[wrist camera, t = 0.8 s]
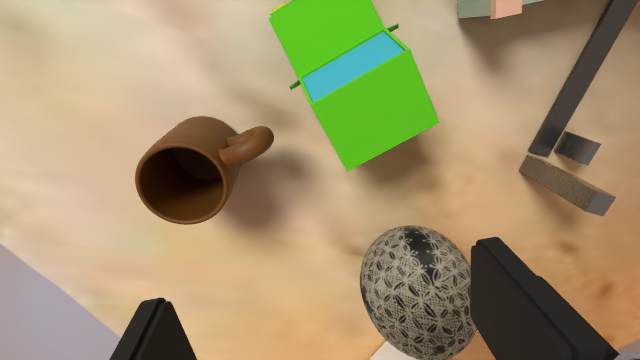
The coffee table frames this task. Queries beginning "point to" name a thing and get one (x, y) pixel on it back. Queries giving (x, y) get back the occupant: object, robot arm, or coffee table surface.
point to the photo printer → (390, 353)
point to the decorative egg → (418, 292)
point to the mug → (196, 168)
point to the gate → (490, 8)
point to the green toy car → (354, 76)
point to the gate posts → (561, 113)
